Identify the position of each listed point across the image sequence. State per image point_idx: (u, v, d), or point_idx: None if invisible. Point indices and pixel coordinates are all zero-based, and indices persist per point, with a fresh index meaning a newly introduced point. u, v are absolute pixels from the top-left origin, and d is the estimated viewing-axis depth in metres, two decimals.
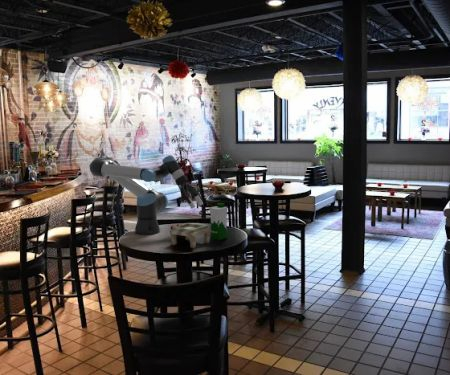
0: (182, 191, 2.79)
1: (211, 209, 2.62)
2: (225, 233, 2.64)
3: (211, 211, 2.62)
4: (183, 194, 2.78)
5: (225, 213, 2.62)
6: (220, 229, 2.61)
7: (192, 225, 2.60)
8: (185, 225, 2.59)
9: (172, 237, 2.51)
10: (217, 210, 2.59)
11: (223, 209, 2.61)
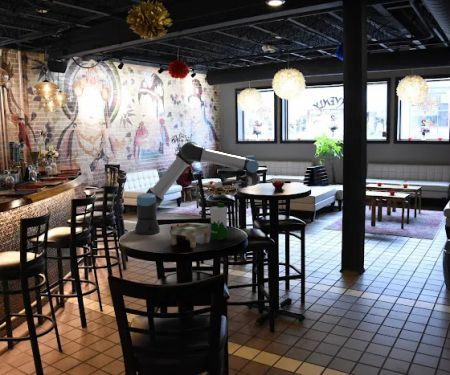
0: (247, 184, 2.75)
1: (211, 209, 2.62)
2: (225, 233, 2.64)
3: (211, 211, 2.62)
4: None
5: (225, 213, 2.62)
6: (220, 229, 2.61)
7: (192, 225, 2.60)
8: (185, 225, 2.59)
9: (172, 237, 2.51)
10: (217, 210, 2.59)
11: (223, 209, 2.61)
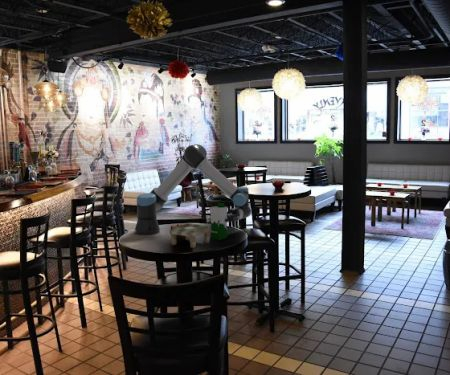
0: (235, 218, 2.67)
1: (211, 209, 2.62)
2: (225, 233, 2.64)
3: (211, 211, 2.62)
4: (234, 219, 2.65)
5: (225, 213, 2.62)
6: (220, 229, 2.61)
7: (192, 225, 2.60)
8: (185, 225, 2.59)
9: (172, 237, 2.51)
10: (217, 210, 2.59)
11: (223, 209, 2.61)
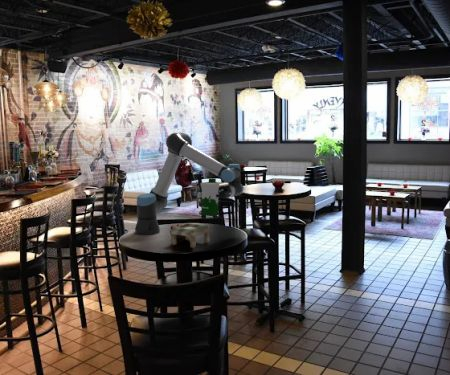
0: (227, 194, 2.60)
1: (202, 184, 2.55)
2: (217, 210, 2.57)
3: (202, 186, 2.55)
4: (226, 194, 2.58)
5: (217, 188, 2.55)
6: (212, 205, 2.54)
7: (192, 225, 2.60)
8: (185, 225, 2.59)
9: (172, 237, 2.51)
10: (208, 185, 2.52)
11: (215, 184, 2.54)
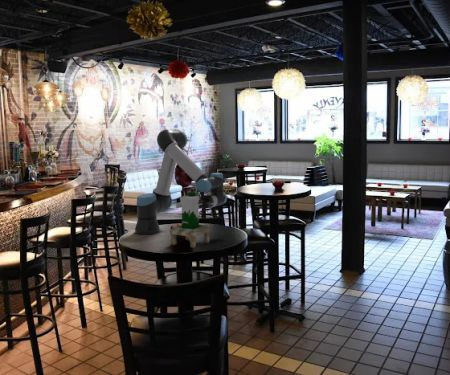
0: (210, 204, 2.54)
1: (181, 198, 2.49)
2: (197, 224, 2.51)
3: (181, 200, 2.49)
4: (209, 205, 2.52)
5: (196, 202, 2.49)
6: (191, 219, 2.48)
7: None
8: None
9: (172, 237, 2.51)
10: (187, 199, 2.46)
11: (194, 198, 2.48)
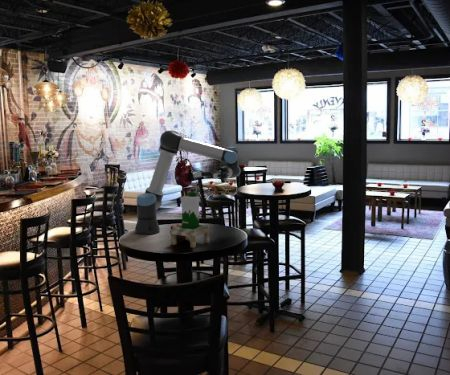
0: None
1: (182, 198, 2.49)
2: (197, 224, 2.51)
3: (182, 200, 2.49)
4: (226, 175, 2.68)
5: (197, 202, 2.49)
6: (192, 219, 2.48)
7: None
8: None
9: (172, 237, 2.51)
10: (188, 199, 2.46)
11: (194, 198, 2.48)
